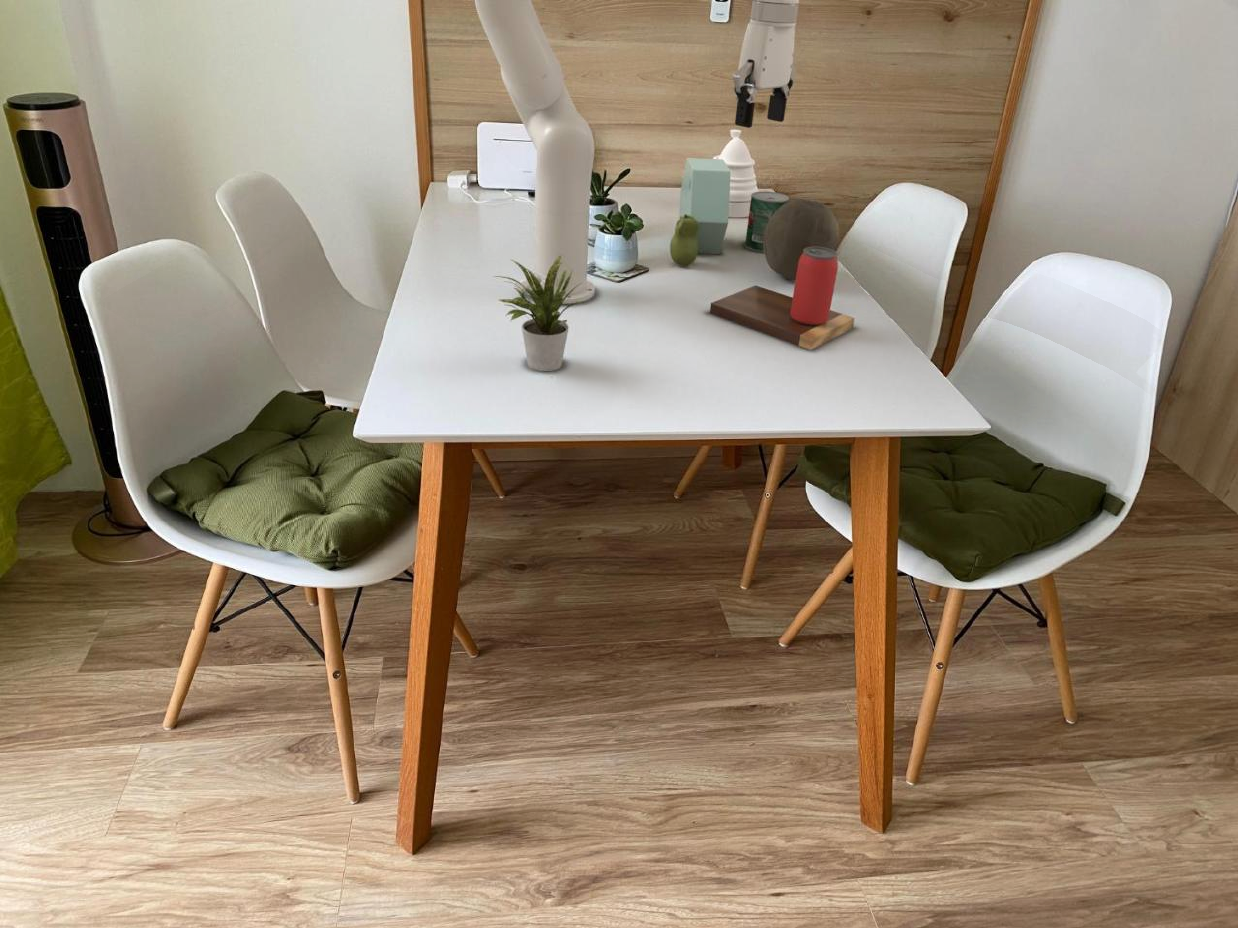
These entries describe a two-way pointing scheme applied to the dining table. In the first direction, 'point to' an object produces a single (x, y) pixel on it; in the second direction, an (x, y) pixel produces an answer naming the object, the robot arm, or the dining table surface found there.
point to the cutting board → (778, 317)
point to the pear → (685, 241)
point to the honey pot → (739, 175)
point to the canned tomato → (761, 216)
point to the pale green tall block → (706, 200)
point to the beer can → (814, 286)
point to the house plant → (543, 318)
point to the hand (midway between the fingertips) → (759, 123)
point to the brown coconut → (798, 234)
